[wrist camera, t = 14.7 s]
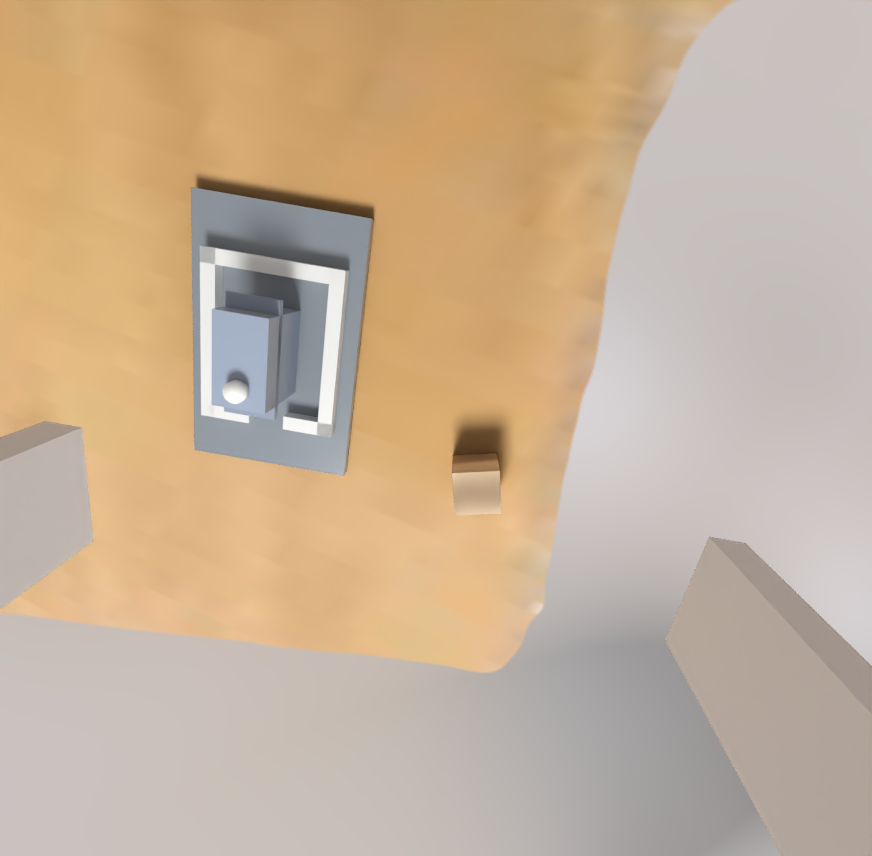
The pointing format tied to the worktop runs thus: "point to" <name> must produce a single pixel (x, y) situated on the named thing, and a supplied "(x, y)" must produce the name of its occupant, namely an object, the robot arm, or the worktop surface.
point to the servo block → (253, 354)
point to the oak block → (476, 484)
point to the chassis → (300, 290)
